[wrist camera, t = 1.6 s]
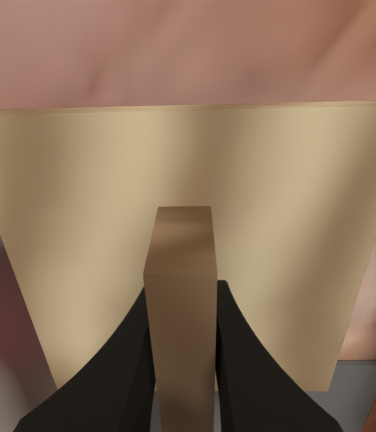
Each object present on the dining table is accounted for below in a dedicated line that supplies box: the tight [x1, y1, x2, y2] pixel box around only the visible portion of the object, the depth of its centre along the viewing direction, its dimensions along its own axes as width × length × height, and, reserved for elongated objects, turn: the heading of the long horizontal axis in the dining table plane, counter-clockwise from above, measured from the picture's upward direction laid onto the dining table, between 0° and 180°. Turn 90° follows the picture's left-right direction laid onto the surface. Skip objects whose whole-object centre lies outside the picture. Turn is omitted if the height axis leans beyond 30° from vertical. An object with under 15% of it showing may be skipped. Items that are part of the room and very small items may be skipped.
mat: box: [150, 361, 376, 432], centre depth 27 cm, size 20×18×1 cm
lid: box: [0, 101, 376, 432], centre depth 13 cm, size 15×15×5 cm
